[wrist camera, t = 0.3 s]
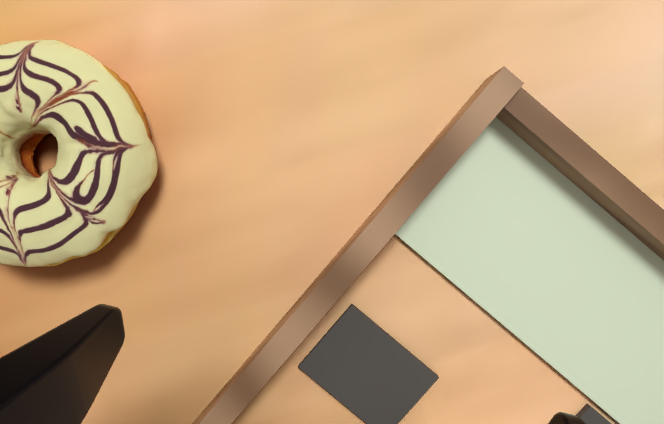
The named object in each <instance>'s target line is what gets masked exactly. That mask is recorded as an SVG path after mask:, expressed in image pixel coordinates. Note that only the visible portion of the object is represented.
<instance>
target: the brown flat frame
mask: <svg viewBox="0 0 664 424" xmlns="http://www.w3.org/2000/svg"><path fill="white" fill-rule="evenodd" d="M523 84H524V83H523V82H522V81H521V80H519V79H518V78H517V77H516V76H515V75H514V74H513V73H511V72H510V71H509V70H508V69H507V68H506V67H502V68H501V69H500V70H498V71H497V72H495V73H494V74H493V75H491V76H490V77H489V78H487V79H486V80H485V81H484V82H483V84H482V85H481V86H480V87H479V88H478V89H477V91H476V92H475V93H474V94H473V95H472V96H471V98H470V99H469V100H468V101H467V102H466V103H465V105H464V106H463V107H462V108H461V109H460V110H459V112H458V113H457V114H456V115H455V116H454V118H453V119H452V120H451V121H450V122H449V123H448V125H447V126H446V127H445V128H444V129H443V130H442V132H441V133H440V134H439V135H438V136H437V137H436V139H435V140H434V141H433V142H432V143H431V145H430V146H429V147H428V148H427V149H426V150H425V152H424V153H423V154H422V155H421V156H420V157H419V159H418V160H417V161H416V162H415V163H414V164H413V166H412V167H411V168H410V169H409V170H408V172H407V173H406V174H405V175H404V176H403V177H402V179H401V180H400V181H399V182H398V183H397V184H396V186H395V187H394V188H393V189H392V190H391V191H390V193H389V194H388V195H387V196H386V197H385V198H384V200H383V201H382V202H381V203H380V204H379V206H378V207H377V208H376V209H375V210H374V211H373V213H372V214H371V215H370V216H369V217H368V218H367V220H366V221H365V222H364V223H363V224H362V225H361V227H360V228H359V229H358V230H357V231H356V233H355V234H354V235H353V236H352V237H351V238H350V240H349V241H348V242H347V243H346V244H345V245H344V247H343V248H342V249H341V250H340V251H339V252H338V254H337V255H336V256H335V257H334V258H333V259H332V261H331V262H330V263H329V264H328V265H327V267H326V268H325V269H324V270H323V271H322V272H321V274H320V275H319V276H318V277H317V278H316V279H315V281H314V282H313V283H312V284H311V285H310V286H309V288H308V289H307V290H306V291H305V292H304V294H303V295H302V296H301V297H300V298H299V299H298V301H297V302H296V303H295V304H294V305H293V306H292V308H291V309H290V310H289V311H288V312H287V313H286V315H285V316H284V317H283V318H282V319H281V321H280V322H279V323H278V324H277V325H276V326H275V328H274V329H273V330H272V331H271V332H270V333H269V335H268V336H267V337H266V338H265V339H264V340H263V342H262V343H261V344H260V345H259V346H258V347H257V349H256V350H255V351H254V352H253V353H252V355H251V356H250V357H249V358H248V359H247V360H246V362H245V363H244V364H243V365H242V366H241V367H240V369H239V370H238V371H237V372H236V373H235V374H234V376H233V377H232V378H231V379H230V380H229V382H228V383H227V384H226V385H225V386H224V387H223V389H222V390H221V391H220V392H219V393H218V394H217V396H216V397H215V398H214V399H213V400H212V401H211V403H210V404H209V405H208V406H207V407H206V408H205V410H204V411H203V412H202V413H201V414H200V416H199V417H198V418H197V419H196V420H195V421H194V423H193V424H232V422H233V421H234V420H235V419H236V418H237V417H238V415H239V414H240V413H241V412H242V411H243V410H244V408H245V407H246V406H247V405H248V404H249V403H250V401H251V400H252V399H253V398H254V397H255V396H256V394H257V393H258V392H259V391H260V390H261V389H262V388H263V386H264V385H265V384H266V383H267V382H268V381H269V379H270V378H271V377H272V376H273V375H274V374H275V372H276V371H277V370H278V369H279V368H280V367H281V365H282V364H283V363H284V362H285V361H286V360H287V358H288V357H289V356H290V355H291V354H292V353H293V351H294V350H295V349H296V348H297V347H298V346H299V345H300V343H301V342H302V341H303V340H304V339H305V338H306V336H307V335H308V334H309V333H310V332H311V331H312V329H313V328H314V327H315V326H316V325H317V324H318V322H319V321H320V320H321V319H322V318H323V317H324V315H325V314H326V313H327V312H328V311H329V310H330V308H331V307H332V306H333V305H334V304H335V303H336V302H337V300H338V299H339V298H340V297H341V296H342V295H343V293H344V292H345V291H346V290H347V289H348V288H349V286H350V285H351V284H352V283H353V282H354V281H355V279H356V278H357V277H358V276H359V275H360V274H361V272H362V271H363V270H364V269H365V268H366V267H367V265H368V264H369V263H370V262H371V261H372V260H373V259H374V257H375V256H376V255H377V254H378V253H379V252H380V250H381V249H382V248H383V247H384V246H385V245H386V243H387V242H388V241H389V240H390V239H391V238H392V236H393V235H394V234H395V233H396V232H397V231H398V229H399V228H400V227H401V226H402V225H403V224H404V222H405V221H406V220H407V219H408V218H409V217H410V215H411V214H412V213H413V212H414V211H415V210H416V209H417V207H418V206H419V205H420V204H421V203H422V202H423V200H424V199H425V198H426V197H427V196H428V195H429V193H430V192H431V191H432V190H433V189H434V188H435V186H436V185H437V184H438V183H439V182H440V181H441V179H442V178H443V177H444V176H445V175H446V174H447V172H448V171H449V170H450V169H451V168H452V167H453V166H454V164H455V163H456V162H457V161H458V160H459V159H460V157H461V156H462V155H463V154H464V153H465V152H466V150H467V149H468V148H469V147H470V146H471V145H472V143H473V142H474V141H475V140H476V139H477V138H478V136H479V135H480V134H481V133H482V132H483V131H484V129H485V128H486V127H487V126H488V125H489V124H490V123H491V121H492V120H493V119H494V118H495V117H497V118H498V119H499V120H500V121H501V122H503V123H504V124H505V125H506V126H507V127H508V128H510V129H511V130H512V131H513V132H514V133H515V134H517V135H518V136H519V137H520V138H521V139H522V140H524V141H525V142H526V143H527V144H528V145H529V146H531V147H532V148H533V149H534V150H535V151H536V152H538V153H539V154H540V155H541V156H542V157H543V158H545V159H546V160H547V161H548V162H549V163H550V164H552V165H553V166H554V167H555V168H556V169H557V170H559V171H560V172H561V173H562V174H563V175H564V176H566V177H567V178H568V179H569V180H570V181H571V182H573V183H574V184H575V185H576V186H577V187H578V188H580V189H581V190H582V191H583V192H584V193H585V194H587V195H588V196H589V197H590V198H591V199H592V200H594V201H595V202H596V203H597V204H598V205H599V206H601V207H602V208H603V209H604V210H605V211H606V212H608V213H609V214H610V215H611V216H612V217H613V218H615V219H616V220H617V221H618V222H619V223H620V224H622V225H623V226H624V227H625V228H626V229H627V230H629V231H630V232H631V233H632V234H633V235H634V236H636V237H637V238H638V239H639V240H640V241H641V242H642V243H644V244H645V245H646V246H647V247H648V248H649V249H651V250H652V251H653V252H654V253H655V254H656V255H658V256H659V257H660V258H661V259H662V260H663V261H664V210H663V209H662V208H661V207H660V206H659V205H657V204H656V203H655V202H654V201H653V200H652V199H650V198H649V197H648V196H647V195H646V194H645V193H643V192H642V191H641V190H640V189H639V188H638V187H636V186H635V185H634V184H633V183H632V182H631V181H629V180H628V179H627V178H626V177H625V176H624V175H623V174H621V173H620V172H619V171H618V170H617V169H616V168H614V167H613V166H612V165H611V164H610V163H609V162H607V161H606V160H605V159H604V158H603V157H602V156H600V155H599V154H598V153H597V152H596V151H595V150H594V149H592V148H591V147H590V146H589V145H588V144H587V143H585V142H584V141H583V140H582V139H581V138H580V137H578V136H577V135H576V134H575V133H574V132H573V131H571V130H570V129H569V128H568V127H567V126H566V125H565V124H563V123H562V122H561V121H560V120H559V119H558V118H556V117H555V116H554V115H553V114H552V113H551V112H549V111H548V110H547V109H546V108H545V107H544V106H542V105H541V104H540V103H539V102H538V101H537V100H535V99H534V98H533V97H532V96H531V95H530V94H529V93H527V92H526V91H525V90H524V89H523V88H522V87H521V86H522V85H523ZM298 367H299V368H300V369H301V370H302V371H303V372H305V373H306V374H307V375H308V376H309V377H311V378H312V379H313V380H314V381H315V382H317V383H318V384H319V385H320V386H322V387H323V388H324V389H325V390H326V391H328V392H329V393H330V394H331V395H332V396H334V397H335V398H336V399H337V400H338V401H340V402H341V403H342V404H343V405H344V406H346V407H347V408H348V409H349V410H350V411H352V412H353V413H354V414H355V415H356V416H358V417H359V418H360V419H361V420H363V421H364V422H365V423H366V424H398V423H399V422H400V421H401V420H402V419H403V417H404V416H405V415H406V414H407V413H408V412H409V411H410V410H411V409H412V407H413V406H414V405H415V404H416V403H417V402H418V401H419V400H420V398H421V397H422V396H423V395H424V394H425V393H426V392H427V391H428V390H429V388H430V387H431V386H432V385H433V384H434V383H435V382H436V381H437V379H438V378H439V377H438V375H437V374H435V373H434V372H433V371H432V370H431V369H429V368H428V367H427V366H426V365H425V364H423V363H422V362H421V361H420V360H419V359H417V358H416V357H415V356H414V355H413V354H412V353H410V352H409V351H408V350H407V349H406V348H404V347H403V346H402V345H401V344H400V343H398V342H397V341H396V340H395V339H394V338H392V337H391V336H390V335H389V334H388V333H386V332H385V331H384V330H383V329H382V328H380V327H379V326H378V325H377V324H376V323H374V322H373V321H372V320H371V319H370V318H368V317H367V316H366V315H365V314H364V313H362V312H361V311H360V310H359V309H358V308H357V307H355V306H354V305H353V304H351V305H350V306H349V307H348V309H347V310H346V311H345V312H344V313H343V314H342V315H341V317H340V318H339V319H338V320H337V321H336V322H335V324H334V325H333V326H332V327H331V328H330V329H329V331H328V332H327V333H326V334H325V335H324V336H323V337H322V339H321V340H320V341H319V342H318V343H317V344H316V346H315V347H314V348H313V349H312V350H311V351H310V353H309V354H308V355H307V356H306V357H305V358H304V359H303V361H302V362H301V363H300V364H299V366H298ZM576 416H578V417H580V418H581V419H582V420H584V422H585V423H586V424H611V423H610V422H609V421H608V420H606V419H605V418H604V417H603V416H602V415H600V414H599V413H598V412H597V411H596V410H594V409H593V408H592V407H591V406H590V405H589V404H586V406H585V407H584V408H583V409H582V410H581V411H580V412H579V413H578V414H577V415H576Z"/></svg>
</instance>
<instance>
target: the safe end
mask: <svg viewBox="0 0 664 424" xmlns="http://www.w3.org/2000/svg"><path fill="white" fill-rule="evenodd" d="M395 234H396V235H397V236H398V237H399V238H400V239H402V240H403V241H404V242H405V243H406V244H408V245H409V246H410V247H411V248H412V249H413V250H415V251H416V252H417V253H418V254H419V255H421V256H422V257H423V258H424V259H425V260H426V261H428V262H429V263H430V264H431V265H432V266H434V267H435V268H436V269H437V270H438V271H440V272H441V273H442V274H443V275H444V276H445V277H447V278H448V279H449V280H450V281H451V282H453V283H454V284H455V285H456V286H457V287H458V288H460V289H461V290H462V291H463V292H464V293H466V294H467V295H468V296H469V297H470V298H472V299H473V300H474V301H475V302H476V303H477V304H479V305H480V306H481V307H482V308H483V309H485V310H486V311H487V312H488V313H489V314H490V315H492V316H493V317H494V318H495V319H496V320H498V321H499V322H500V323H501V324H502V325H504V326H505V327H506V328H507V329H508V330H509V331H511V332H512V333H513V334H514V335H515V336H517V337H518V338H519V339H520V340H521V341H522V342H524V343H525V344H526V345H527V346H528V347H530V348H531V349H532V350H533V351H534V352H536V353H537V354H538V355H539V356H540V357H541V358H543V359H544V360H545V361H546V362H547V363H549V364H550V365H551V366H552V367H553V368H554V369H556V370H557V371H558V372H559V373H560V374H562V375H563V376H564V377H565V378H566V379H568V380H569V381H570V382H571V383H572V384H573V385H575V386H576V387H577V388H578V389H579V390H581V391H582V392H583V393H584V394H585V395H586V396H588V397H589V398H590V399H591V400H592V401H594V402H595V403H596V404H597V405H598V406H600V407H601V408H602V409H603V410H604V411H605V412H607V413H608V414H609V415H610V416H611V417H613V418H614V419H615V420H616V421H617V422H618V423H620V424H664V261H663V260H662V259H661V258H660V257H659V256H658V255H656V254H655V253H654V252H653V251H652V250H651V249H649V248H648V247H647V246H646V245H645V244H644V243H642V242H641V241H640V240H639V239H638V238H637V237H636V236H634V235H633V234H632V233H631V232H630V231H629V230H627V229H626V228H625V227H624V226H623V225H622V224H620V223H619V222H618V221H617V220H616V219H615V218H613V217H612V216H611V215H610V214H609V213H608V212H606V211H605V210H604V209H603V208H602V207H601V206H599V205H598V204H597V203H596V202H595V201H594V200H592V199H591V198H590V197H589V196H588V195H587V194H585V193H584V192H583V191H582V190H581V189H580V188H578V187H577V186H576V185H575V184H574V183H573V182H571V181H570V180H569V179H568V178H567V177H566V176H564V175H563V174H562V173H561V172H560V171H559V170H557V169H556V168H555V167H554V166H553V165H552V164H550V163H549V162H548V161H547V160H546V159H545V158H543V157H542V156H541V155H540V154H539V153H538V152H536V151H535V150H534V149H533V148H532V147H531V146H529V145H528V144H527V143H526V142H525V141H524V140H522V139H521V138H520V137H519V136H518V135H517V134H515V133H514V132H513V131H512V130H511V129H510V128H508V127H507V126H506V125H505V124H504V123H503V122H501V121H500V120H499V119H498V118H497V117H495V118H494V119H493V120H492V121H491V123H490V124H489V125H488V126H487V127H486V128H485V129H484V131H483V132H482V133H481V134H480V135H479V136H478V138H477V139H476V140H475V141H474V142H473V143H472V145H471V146H470V147H469V148H468V149H467V150H466V152H465V153H464V154H463V155H462V156H461V157H460V159H459V160H458V161H457V162H456V163H455V164H454V166H453V167H452V168H451V169H450V170H449V171H448V172H447V174H446V175H445V176H444V177H443V178H442V179H441V181H440V182H439V183H438V184H437V185H436V186H435V188H434V189H433V190H432V191H431V192H430V193H429V195H428V196H427V197H426V198H425V199H424V200H423V202H422V203H421V204H420V205H419V206H418V207H417V209H416V210H415V211H414V212H413V213H412V214H411V215H410V217H409V218H408V219H407V220H406V221H405V222H404V224H403V225H402V226H401V227H400V228H399V229H398V231H397V232H396V233H395Z"/></svg>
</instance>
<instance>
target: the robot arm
mask: <svg viewBox="0 0 664 424" xmlns="http://www.w3.org/2000/svg"><path fill="white" fill-rule="evenodd" d="M124 338H125V332H124V325H123V319H122V313H121V310H120V309H119V308H117V307H114V306H109V305H105V304H99V305H96V306H94V307H93V308H91V309H89V310H87V311H85V312H83V313H82V314H80V315H78V316H76V317H74V318H72V319H71V320H69V321H67V322H65V323H63V324H61V325H60V326H58V327H56V328H54V329H52V330H50V331H49V332H47V333H45V334H43V335H41V336H40V337H38V338H36V339H34V340H32V341H30V342H29V343H27V344H25V345H23V346H21V347H19V348H18V349H16V350H14V351H12V352H10V353H8V354H7V355H5V356H3V357H1V358H0V424H81V423H82V421H83V419H84V418H85V416H86V414H87V413H88V411H89V409H90V407H91V405H92V403H93V402H94V400H95V398H96V396H97V394H98V392H99V390H100V388H101V386H102V384H103V382H104V380H105V378H106V376H107V374H108V372H109V370H110V368H111V366H112V364H113V362H114V361H115V359H116V357H117V355H118V353H119V351H120V349H121V347H122V345H123V342H124ZM548 424H586V423H585V422H584V420H582V419H581V418H580V417H578V416H575V415H571V414H567V413H563V412H559V413H556V414H555V415H554V416H553V418H552V419H551V421H550V422H549V423H548Z"/></svg>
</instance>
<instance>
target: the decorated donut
mask: <svg viewBox="0 0 664 424" xmlns="http://www.w3.org/2000/svg"><path fill="white" fill-rule="evenodd" d="M47 134H53V135H54V136H55V137H56V139H57V142H58V154H57V160H56V165H55V167H53V168H51V169H49V170H48V171H46V172H44V173H43V174H42V176H40V175H38V173H37V171H36V168H35V166H34V162H33V154H34V153H33V151H34V150H35V147H36V146H37V144H38V143H39V142H40V141H41V140H42V139H43V138H44V137H45V136H46V135H47ZM151 139H152V137H151V134H150V132H149V127H148V123H147V120H146V118H145V113H144V111H143V109H142V107H141V105H140V102H139V101H138V99H137V97H136V95H135V94H134V92H133V91H132V89H131V87H130V85H129V84H128V83H126V82H125V81H124V80H122V79H121V78H120V77H119V76H118V75H117V74H116V73H115V72H113V71H112V70H110V69H109V68H107V67H106V66H104V65H102V64H101V63H100V62H99V61H97V60H96V59H95V58H93V57H92V56H90V55H89V54H87V53H85V52H83V51H81V50H79V49H77V48H73V47H71V46H69V45H67V44H65V43H62V42H60V41H57V40H37V41H18V42H12V43H8V44H4V45H0V264H6V265H13V266H24V267H38V266H55V265H60V264H61V263H64V262H66V261H68V260H71V259H74V258H79V257H85V256H87V255H89V254H92V253H95V252H97V251H99V250H100V249H102V248H103V247H104V246H105V245H106V244H108V243H109V242H110V241H111V240H112V239H113V237H114V236H116V234H117V233H118V232H119V231H120V230H121V229H122V228H123V227H124V226H125V225H126V223H127V222H128V220H129V219H130V218H131V217H132V215H133V214H134V211H135V210H136V207H137V205H138V204H139V201H140V199H141V198H142V196H143V195H144V194H145V193H146V192H147V190H148V189H149V188H150V187H151V185H152V183H153V181H154V179H155V178H156V175H157V169H158V163H157V156H156V152H155V148H154V145H153V144H152V142H151Z"/></svg>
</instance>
